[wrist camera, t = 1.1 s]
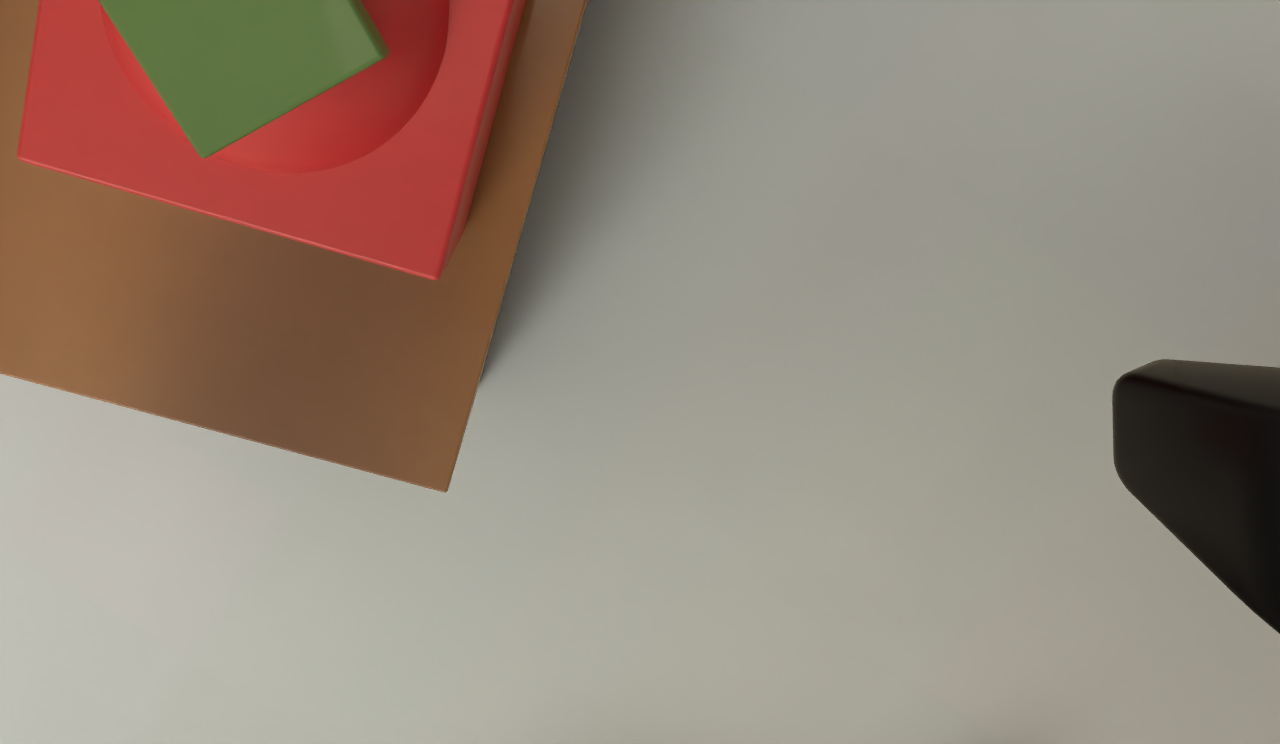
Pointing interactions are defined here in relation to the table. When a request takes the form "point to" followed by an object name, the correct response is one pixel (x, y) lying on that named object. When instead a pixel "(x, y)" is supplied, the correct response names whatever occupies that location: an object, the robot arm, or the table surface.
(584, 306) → the table surface
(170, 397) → the stand
